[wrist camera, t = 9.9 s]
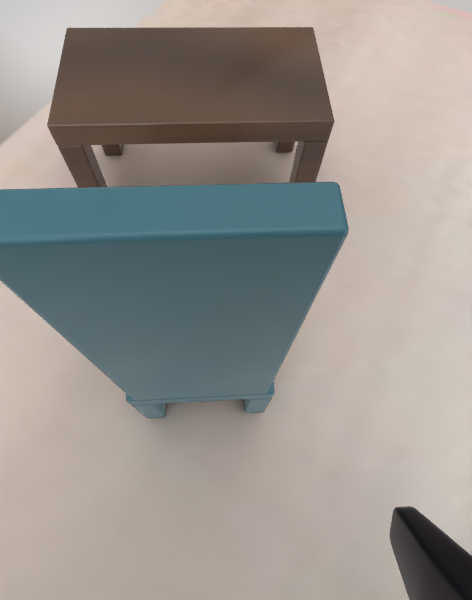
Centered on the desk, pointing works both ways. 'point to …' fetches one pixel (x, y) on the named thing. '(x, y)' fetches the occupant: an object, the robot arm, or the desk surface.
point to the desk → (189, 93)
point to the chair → (175, 280)
